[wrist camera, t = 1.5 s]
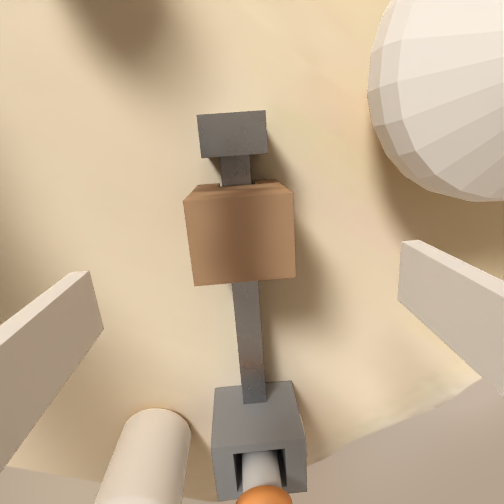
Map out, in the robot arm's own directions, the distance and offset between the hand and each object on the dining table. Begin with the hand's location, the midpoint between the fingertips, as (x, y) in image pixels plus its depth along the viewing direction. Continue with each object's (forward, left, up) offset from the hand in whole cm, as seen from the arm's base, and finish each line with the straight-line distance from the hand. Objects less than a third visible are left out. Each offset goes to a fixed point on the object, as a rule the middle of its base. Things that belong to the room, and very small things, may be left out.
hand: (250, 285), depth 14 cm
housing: (0, -24, -19) cm, 31 cm away
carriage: (0, 0, -19) cm, 19 cm away
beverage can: (-12, -26, -19) cm, 35 cm away
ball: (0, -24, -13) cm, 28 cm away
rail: (0, -6, -19) cm, 20 cm away
